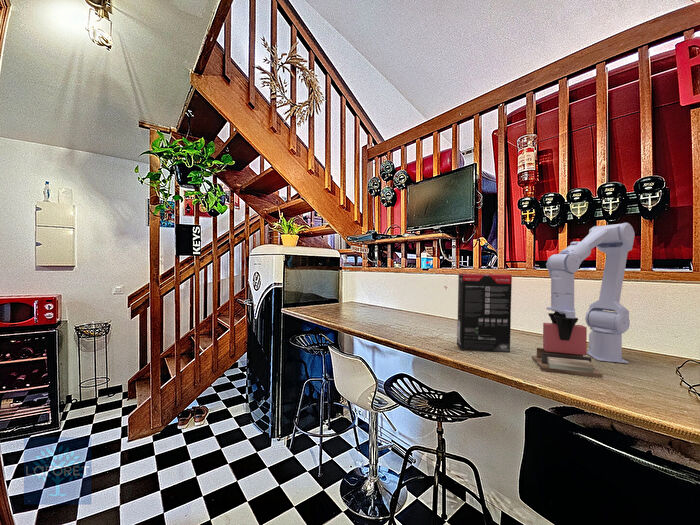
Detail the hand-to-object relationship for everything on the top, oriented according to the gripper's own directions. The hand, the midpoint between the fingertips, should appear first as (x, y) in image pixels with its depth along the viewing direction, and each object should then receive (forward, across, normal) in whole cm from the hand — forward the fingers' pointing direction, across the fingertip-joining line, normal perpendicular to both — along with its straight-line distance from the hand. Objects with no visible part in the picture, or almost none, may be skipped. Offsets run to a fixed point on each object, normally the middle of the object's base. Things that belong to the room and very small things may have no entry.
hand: (562, 338), depth 89 cm
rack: (+8, +2, 0) cm, 8 cm away
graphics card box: (+8, -10, -21) cm, 25 cm away
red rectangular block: (+4, 0, 0) cm, 4 cm away
